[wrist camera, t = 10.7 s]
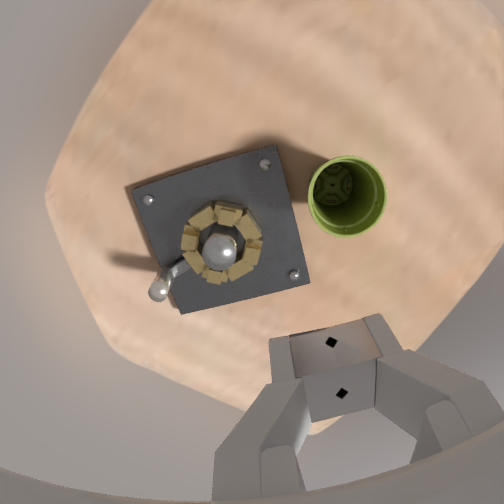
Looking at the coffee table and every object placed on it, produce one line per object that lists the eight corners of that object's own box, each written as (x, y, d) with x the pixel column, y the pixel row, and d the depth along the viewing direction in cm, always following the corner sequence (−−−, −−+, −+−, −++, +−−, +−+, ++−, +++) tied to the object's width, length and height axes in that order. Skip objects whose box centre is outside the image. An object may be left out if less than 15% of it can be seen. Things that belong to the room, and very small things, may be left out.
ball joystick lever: (233, 187, 41) (230, 198, 35) (274, 249, 44) (277, 269, 38) (140, 249, 44) (126, 267, 38) (182, 302, 47) (174, 326, 41)
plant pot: (297, 218, 44) (308, 240, 36) (295, 150, 41) (306, 156, 32) (362, 215, 44) (384, 236, 36) (362, 149, 40) (388, 156, 32)
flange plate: (134, 188, 42) (114, 200, 35) (275, 144, 40) (280, 148, 33) (182, 309, 49) (173, 337, 42) (308, 278, 47) (318, 304, 40)
